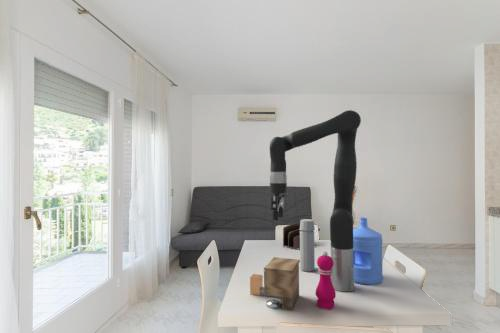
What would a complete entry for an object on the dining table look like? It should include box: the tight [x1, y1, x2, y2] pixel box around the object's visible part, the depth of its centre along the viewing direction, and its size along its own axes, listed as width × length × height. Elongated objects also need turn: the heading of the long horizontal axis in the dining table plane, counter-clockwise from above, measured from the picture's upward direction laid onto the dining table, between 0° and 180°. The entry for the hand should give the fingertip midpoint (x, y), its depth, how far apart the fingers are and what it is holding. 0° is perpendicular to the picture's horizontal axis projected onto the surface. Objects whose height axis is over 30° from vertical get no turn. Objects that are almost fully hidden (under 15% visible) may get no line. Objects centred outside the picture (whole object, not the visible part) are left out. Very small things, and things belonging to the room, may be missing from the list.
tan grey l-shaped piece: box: [249, 273, 282, 299], centre depth 124 cm, size 14×4×7 cm, turn 71°
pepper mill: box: [315, 251, 337, 310], centre depth 114 cm, size 7×7×20 cm
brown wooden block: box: [263, 257, 300, 311], centre depth 118 cm, size 11×15×14 cm
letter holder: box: [282, 223, 301, 250], centre depth 205 cm, size 10×20×14 cm, turn 130°
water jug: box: [353, 217, 384, 286], centre depth 141 cm, size 16×16×28 cm
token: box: [265, 298, 281, 310], centre depth 114 cm, size 5×5×2 cm
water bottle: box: [299, 218, 316, 273], centre depth 156 cm, size 9×8×25 cm
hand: (278, 218), depth 137 cm, fingers open, 8 cm apart
